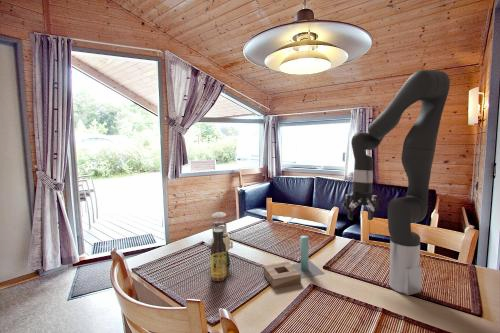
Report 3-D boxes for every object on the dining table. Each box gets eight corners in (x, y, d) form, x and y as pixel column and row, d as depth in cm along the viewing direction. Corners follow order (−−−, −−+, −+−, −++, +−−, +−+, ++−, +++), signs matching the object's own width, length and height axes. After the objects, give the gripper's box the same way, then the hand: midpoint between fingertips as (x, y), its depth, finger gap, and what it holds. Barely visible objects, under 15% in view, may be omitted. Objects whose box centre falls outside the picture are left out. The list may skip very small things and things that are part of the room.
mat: (325, 274, 110) (325, 273, 110) (298, 279, 106) (298, 279, 106) (310, 261, 121) (310, 261, 121) (285, 266, 118) (285, 265, 118)
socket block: (300, 283, 103) (300, 273, 103) (274, 289, 100) (273, 279, 100) (288, 270, 114) (288, 261, 113) (263, 275, 111) (263, 265, 110)
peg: (310, 270, 113) (309, 237, 111) (303, 271, 112) (302, 239, 110) (306, 267, 116) (305, 235, 114) (299, 268, 115) (298, 236, 113)
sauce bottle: (213, 284, 105) (211, 234, 103) (209, 276, 111) (206, 229, 109) (229, 280, 108) (227, 231, 106) (224, 273, 113) (222, 226, 111)
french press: (221, 243, 145) (219, 197, 143) (205, 239, 152) (202, 195, 149) (232, 237, 153) (230, 194, 151) (216, 234, 160) (214, 192, 157)
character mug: (208, 265, 121) (206, 236, 120) (217, 258, 127) (216, 231, 126) (229, 269, 116) (228, 240, 115) (237, 262, 123) (236, 234, 121)
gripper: (351, 181, 108) (348, 221, 109) (384, 182, 110) (381, 222, 111) (342, 179, 116) (340, 217, 116) (373, 180, 117) (371, 217, 118)
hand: (360, 219), depth 113 cm, fingers open, 8 cm apart
